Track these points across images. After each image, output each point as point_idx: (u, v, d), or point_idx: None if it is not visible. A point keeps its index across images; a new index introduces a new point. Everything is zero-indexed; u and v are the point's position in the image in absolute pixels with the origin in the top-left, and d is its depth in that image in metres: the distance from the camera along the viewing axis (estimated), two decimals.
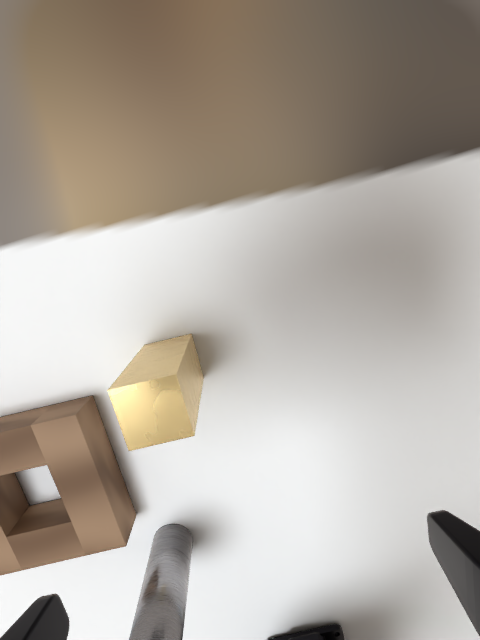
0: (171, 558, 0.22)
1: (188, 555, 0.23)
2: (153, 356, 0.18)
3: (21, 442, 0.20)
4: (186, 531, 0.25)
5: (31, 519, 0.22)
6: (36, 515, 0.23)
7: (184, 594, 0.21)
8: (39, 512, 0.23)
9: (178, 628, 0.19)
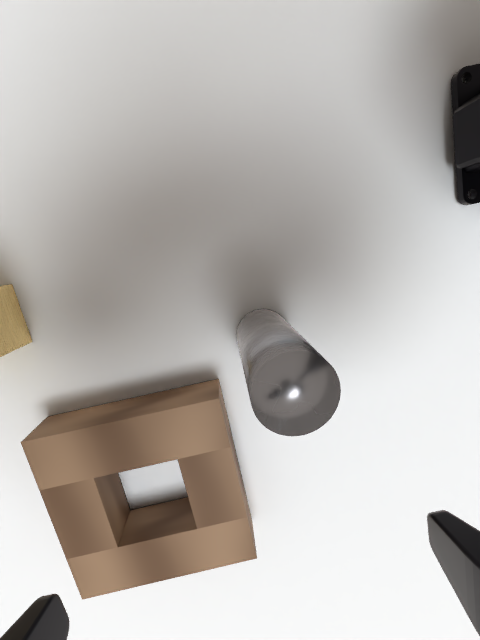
0: (240, 342, 0.16)
1: (258, 316, 0.16)
2: None
3: (64, 501, 0.17)
4: (245, 316, 0.18)
5: None
6: None
7: (266, 328, 0.14)
8: None
9: (269, 343, 0.12)
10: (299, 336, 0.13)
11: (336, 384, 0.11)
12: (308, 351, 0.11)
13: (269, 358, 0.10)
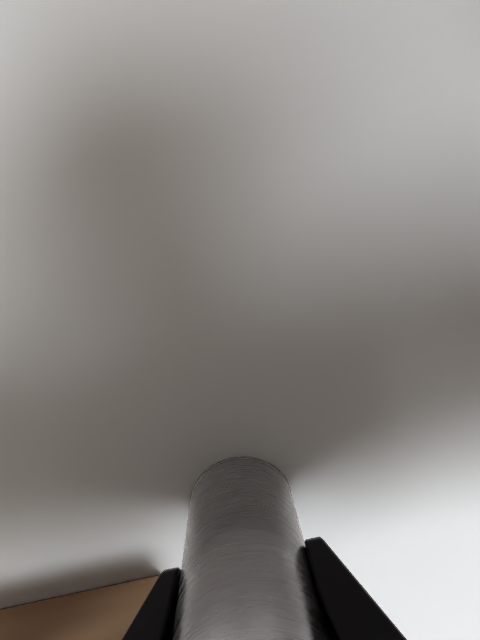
0: (179, 589, 0.07)
1: (223, 509, 0.08)
2: None
3: None
4: (206, 475, 0.09)
5: None
6: None
7: None
8: None
9: None
10: None
11: None
12: None
13: None
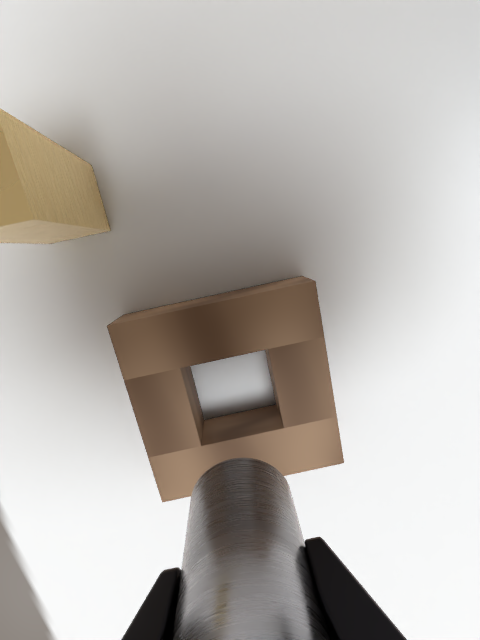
0: (179, 590, 0.07)
1: (223, 510, 0.08)
2: None
3: (148, 393, 0.16)
4: (206, 476, 0.09)
5: (276, 400, 0.18)
6: (275, 395, 0.18)
7: None
8: (274, 391, 0.18)
9: None
10: None
11: None
12: None
13: None
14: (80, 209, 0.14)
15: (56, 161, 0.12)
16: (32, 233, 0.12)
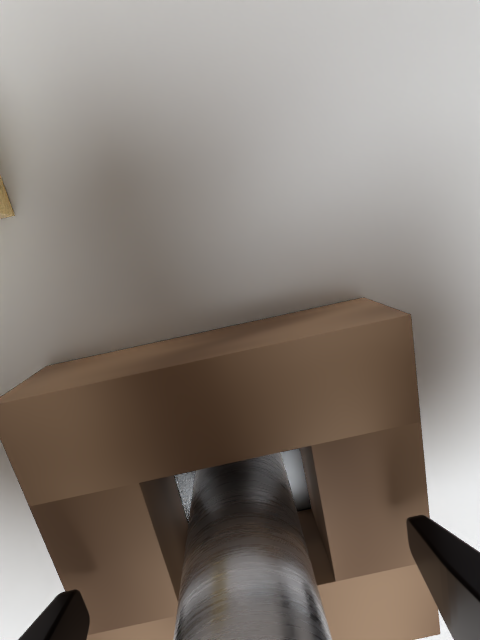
0: None
1: (224, 467, 0.09)
2: None
3: (78, 529, 0.08)
4: None
5: (318, 518, 0.10)
6: (315, 506, 0.10)
7: (226, 554, 0.06)
8: (312, 498, 0.10)
9: None
10: (295, 613, 0.06)
11: None
12: None
13: None
14: None
15: None
16: None
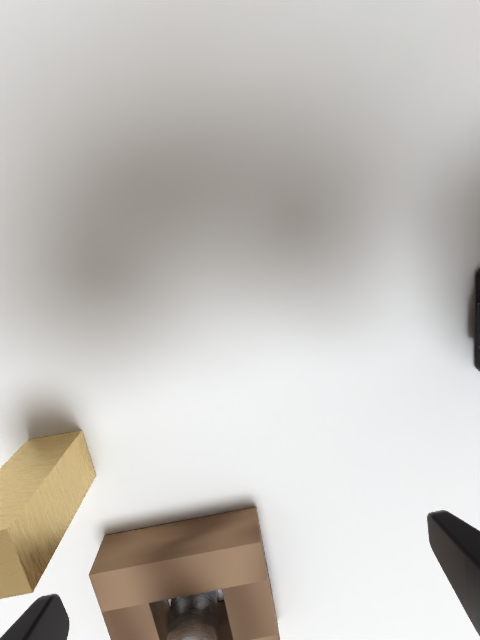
0: None
1: None
2: None
3: (121, 621, 0.19)
4: None
5: None
6: None
7: None
8: None
9: None
10: None
11: None
12: None
13: None
14: (70, 504, 0.17)
15: (52, 489, 0.16)
16: None
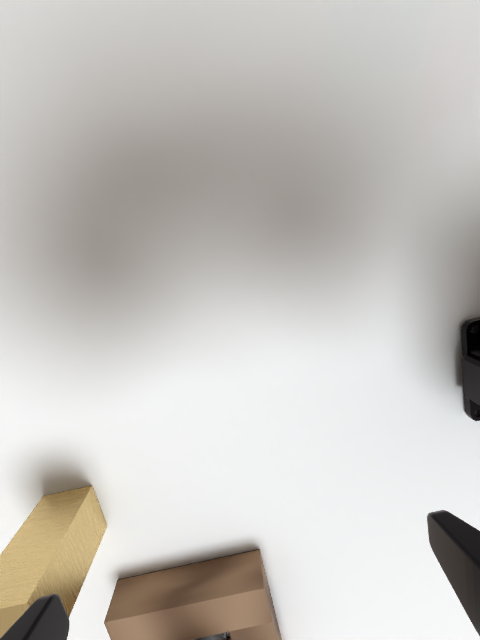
0: None
1: None
2: None
3: None
4: None
5: None
6: None
7: None
8: None
9: None
10: None
11: None
12: None
13: None
14: (83, 561, 0.18)
15: (66, 552, 0.17)
16: None
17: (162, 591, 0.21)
